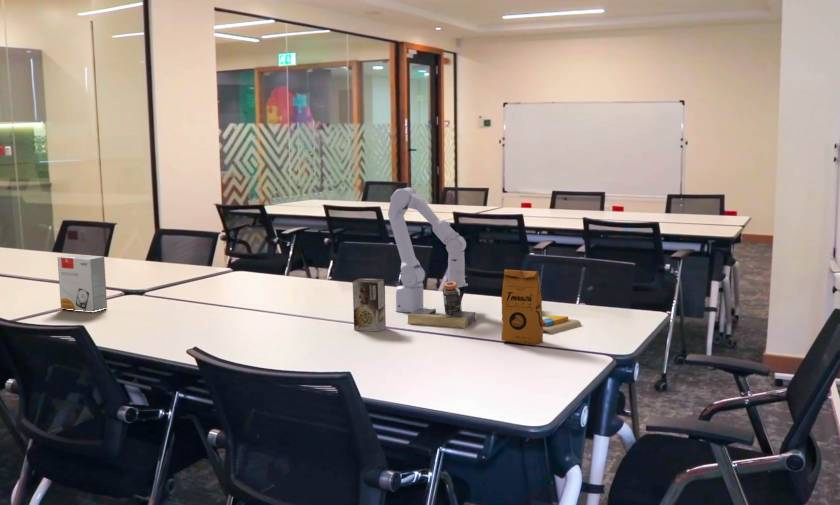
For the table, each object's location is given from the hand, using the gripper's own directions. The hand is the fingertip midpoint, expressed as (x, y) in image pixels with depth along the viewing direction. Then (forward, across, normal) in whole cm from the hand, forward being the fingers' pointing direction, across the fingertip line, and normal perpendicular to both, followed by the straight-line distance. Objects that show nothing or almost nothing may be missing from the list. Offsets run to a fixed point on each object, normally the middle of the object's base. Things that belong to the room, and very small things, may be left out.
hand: (456, 309), depth 284 cm
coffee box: (+2, -32, +19) cm, 37 cm away
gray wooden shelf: (+1, -15, 0) cm, 16 cm away
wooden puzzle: (+2, -9, -33) cm, 34 cm away
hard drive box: (+1, -38, +131) cm, 137 cm away
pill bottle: (+1, -3, 0) cm, 3 cm away
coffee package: (+2, -33, -32) cm, 46 cm away
